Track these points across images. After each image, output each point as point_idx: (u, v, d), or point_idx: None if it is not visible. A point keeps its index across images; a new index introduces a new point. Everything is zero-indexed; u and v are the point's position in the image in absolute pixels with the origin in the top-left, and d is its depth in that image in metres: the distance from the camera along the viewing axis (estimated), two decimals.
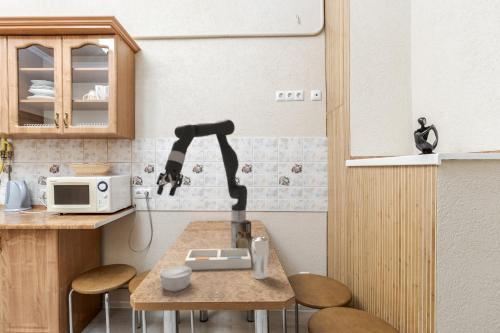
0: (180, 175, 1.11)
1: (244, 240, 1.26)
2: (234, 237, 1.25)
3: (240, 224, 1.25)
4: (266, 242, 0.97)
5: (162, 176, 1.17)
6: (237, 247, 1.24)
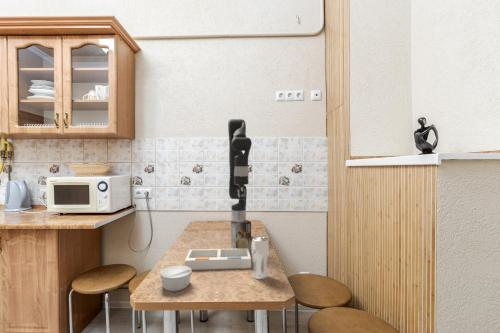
0: None
1: (244, 240, 1.26)
2: (234, 237, 1.25)
3: (240, 224, 1.25)
4: (266, 242, 0.97)
5: None
6: (237, 247, 1.24)
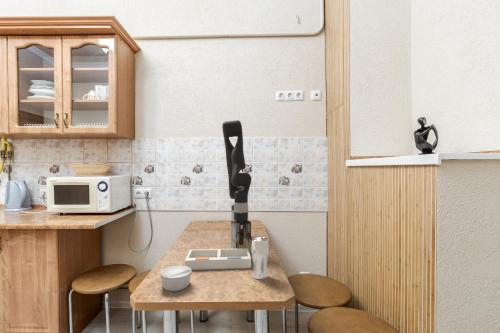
0: None
1: (244, 240, 1.26)
2: (234, 237, 1.25)
3: None
4: (266, 242, 0.97)
5: None
6: (237, 247, 1.24)
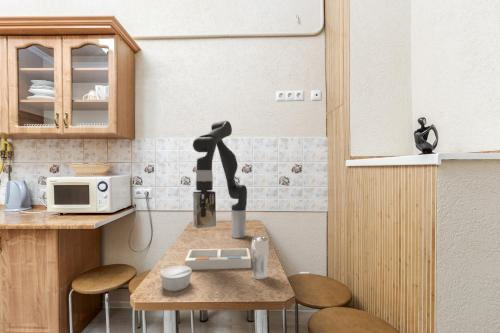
0: None
1: (207, 212, 1.12)
2: (195, 209, 1.11)
3: None
4: (266, 242, 0.97)
5: None
6: (199, 220, 1.10)
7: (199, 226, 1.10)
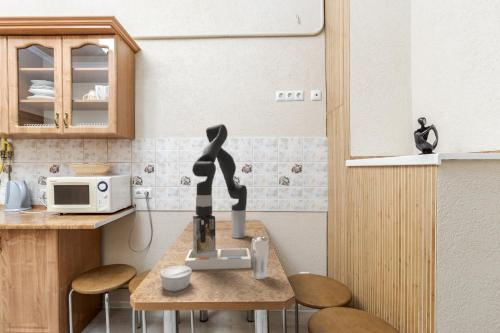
0: None
1: (207, 238, 1.12)
2: (195, 234, 1.11)
3: None
4: (266, 242, 0.97)
5: None
6: (198, 245, 1.10)
7: (199, 252, 1.10)
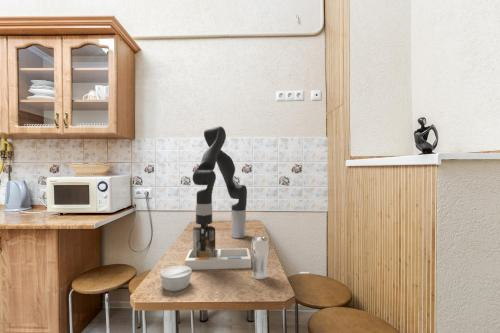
0: None
1: (206, 249, 1.11)
2: (195, 245, 1.11)
3: None
4: (266, 242, 0.97)
5: None
6: None
7: None
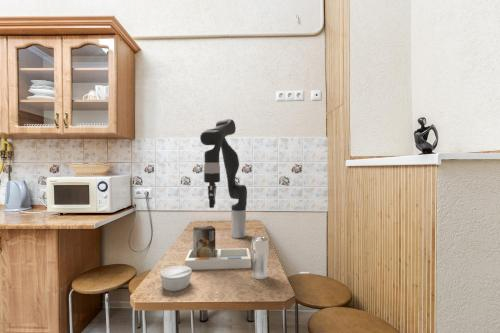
0: None
1: (207, 249, 1.11)
2: (195, 245, 1.11)
3: (202, 231, 1.11)
4: (266, 242, 0.97)
5: None
6: None
7: None
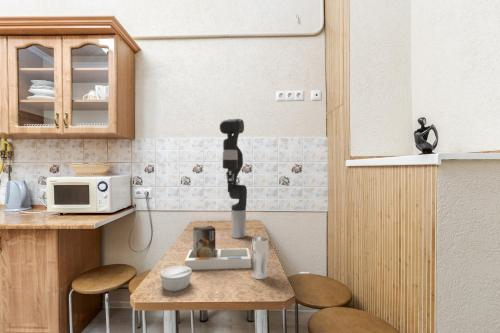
0: None
1: (207, 249, 1.11)
2: (195, 245, 1.11)
3: (202, 231, 1.11)
4: (266, 242, 0.97)
5: None
6: None
7: None
